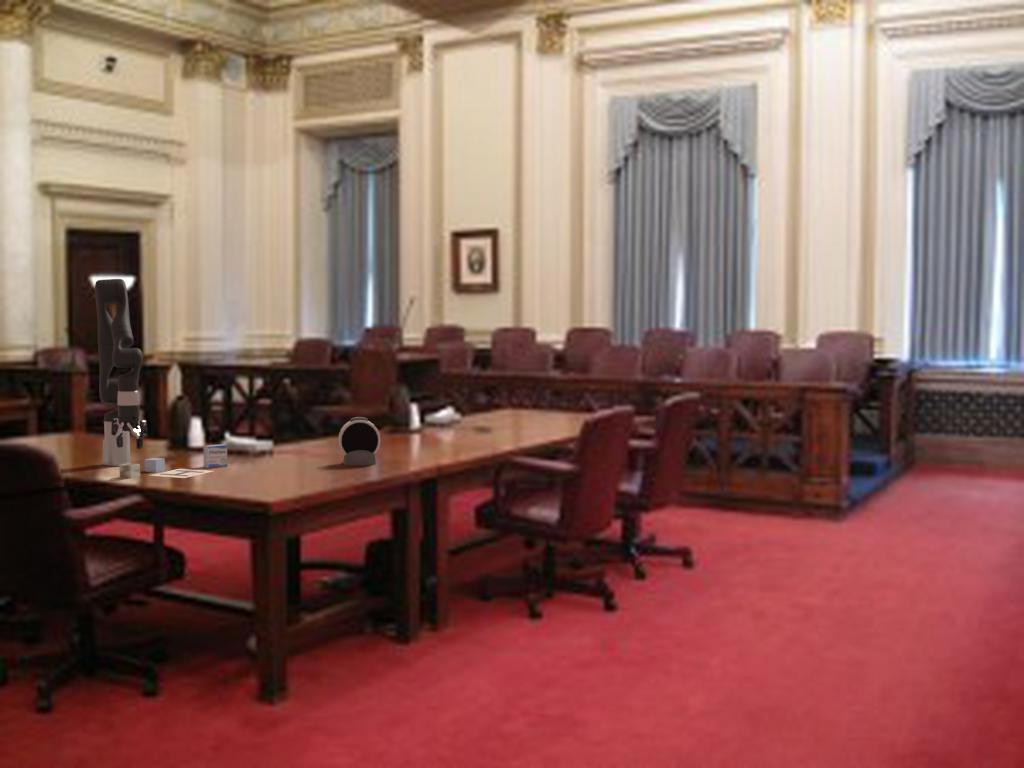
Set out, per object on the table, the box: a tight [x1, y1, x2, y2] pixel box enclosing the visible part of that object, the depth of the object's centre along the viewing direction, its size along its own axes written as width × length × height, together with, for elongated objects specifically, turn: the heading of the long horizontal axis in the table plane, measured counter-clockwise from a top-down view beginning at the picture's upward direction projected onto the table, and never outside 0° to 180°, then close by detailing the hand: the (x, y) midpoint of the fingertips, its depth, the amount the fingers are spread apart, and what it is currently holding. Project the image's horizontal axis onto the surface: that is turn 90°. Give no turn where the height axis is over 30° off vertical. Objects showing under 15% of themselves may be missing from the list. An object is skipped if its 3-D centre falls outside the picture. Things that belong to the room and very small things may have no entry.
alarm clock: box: [338, 416, 381, 466], centre depth 457 cm, size 16×10×18 cm, turn 101°
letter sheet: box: [148, 468, 214, 479], centre depth 430 cm, size 16×18×1 cm
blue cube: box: [144, 457, 166, 473], centre depth 436 cm, size 5×5×5 cm
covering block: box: [118, 462, 141, 479], centre depth 422 cm, size 5×5×5 cm
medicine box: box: [202, 443, 228, 469], centre depth 447 cm, size 8×4×9 cm, turn 126°
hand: (129, 448), depth 421 cm, fingers open, 8 cm apart
